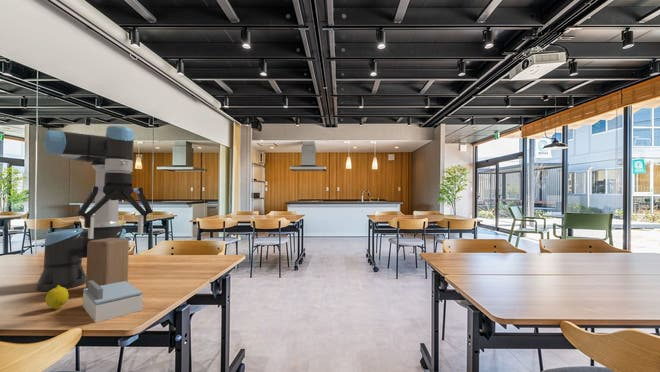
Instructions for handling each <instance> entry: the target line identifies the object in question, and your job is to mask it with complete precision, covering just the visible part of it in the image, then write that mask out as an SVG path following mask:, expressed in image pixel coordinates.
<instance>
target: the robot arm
mask: <svg viewBox="0 0 660 372" xmlns="http://www.w3.org/2000/svg"><path fill="white" fill-rule="evenodd" d="M134 133H135V132H134V130H133V129H132V128H130V127H126V126H122V125H120V126H119V125H109V126H107V127H106V131H105V136H104V135H95V134H85V133H77V132H71V131H70V132H69V131H62V130H54V129H53V130H52V129H50V130H46V131H45V133H44V151H45V153H48V154H53V155H54V154H55V155H59V156H61V157H63V158H65V159H68V160H72V161H75V162H81V163H91V167H92V168H93V169H94V170H95V185H94V186H91V189H90V194H88V196H87V198H86V199H85V200H84V202H83V204H82V205H81V206H80V208H79V209H78V211H77V212H76V215H77V216H79V217H83V219H84V222H83V223H84V225H83V227H84V228H85V229H87V230H84V229H83V228H82V227H79V228H78V227H77V228H68V229H61V230H58V231H53V232H49V233H48V234H46V235H45V238H44V244H43V247H44V256H43V269H42V272H41V274H40V276H39V278H38V281H37V283H36V291H41V292H49V291H50V290H52V289H54V288H56V286H58V285H60V287H63V288H66V289H67V290H68V289H70V288H71V289H72V288H74V287H79V286H82V285H85V284H86V273H85V272H86V271H85V269H84V268H83V265H82V263H83V262H82V261H83V260H82V259H87V243H88V242H89V241H92V240H99V239H106V238H126V236H127V235H126V234H127V231H126V228H123V225H122V224H121V223H120V222H119V201H125V200H126V201H127V202H128V203H129V204H130V205H131V206H132V207H133V208H134V209H135V210H136V211H137V212H138V213H139V214H138V216H137V234H138V235H144V225H146V224H147V216H148V215H149V214H153V212H154V211H153V209H152V206H151V205H150V204H149V201H148V200H147V197H146V196H145V194H144V188H143V187H135V188H134V187H133V177H134V176H133V174H132V173H133V169H134V163H133V162H134V141H135V137H134V136H135V135H134ZM133 193H135V194H136V195H137V197H138V198H139V200H140V203H141V205H142V206H143V207H142V206H141V205H140V203H138V202H137V201H136V200H135V198H134V197H133V196H132V194H133ZM93 201H94V205H93V207H91V208H90V209H89V207H90V206H91V204H92V203H93ZM88 209H89V210H88ZM87 210H88V211H87ZM92 216H93V217H92Z"/></svg>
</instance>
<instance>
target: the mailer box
mask: <svg viewBox="0 0 660 372" xmlns="http://www.w3.org/2000/svg"><path fill="white" fill-rule="evenodd" d="M143 298H144V297H143V294H140V295H136V296H131V297H127V298H123V299H118V300H114V301H110V302H105V303H101V304H95V303H94V302H93V301H92V300H91V299H90V297H89V296H88V295H87V294H86V293H85V292H84V291H83V292H82V308H83V309H84V310H85V311H86V312H87V314H88V315H89V317H91V319H92V320H93V322H94V323H95V324H96V323H100V322H102V321H107V320H111V319H114V318H118V317H122V316H126V315H129V314H133V313H137V312H141V311H143V302H144V301H143Z"/></svg>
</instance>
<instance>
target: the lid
mask: <svg viewBox="0 0 660 372" xmlns="http://www.w3.org/2000/svg"><path fill="white" fill-rule="evenodd" d="M83 292H85V293H86V294H87V295H88V296H89V297H90V299H91V300H92V301H93V302H94V303H95V304H101V303H105V302H110V301H114V300H118V299H123V298H127V297H131V296H136V295H140V294H142V295H143V294H144V293H143V291H142V290H140V289H138V288H137V287H136V286H135V285H133V284H131V283H130V282H129V281H128V282H126V281H123V282H118V283H112V284H107V285H102V286H99V285H98V284H97V283H96V282H94V281H93V280H91V281H88V288H86V287H85V288H83Z"/></svg>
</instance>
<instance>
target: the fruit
mask: <svg viewBox="0 0 660 372" xmlns="http://www.w3.org/2000/svg"><path fill="white" fill-rule="evenodd" d="M69 297H70V296H69V290H68V288H67V289H66V288H63V287H60V285H58V286H56V288H54V289H52V290H50V291H47V294H46V296H45V300H44V301H45V304H46V306H47V307H49V308H51V309H54V310H60V309H61V307H63V305H65V304H66V303H67V301H68V300H69Z"/></svg>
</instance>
